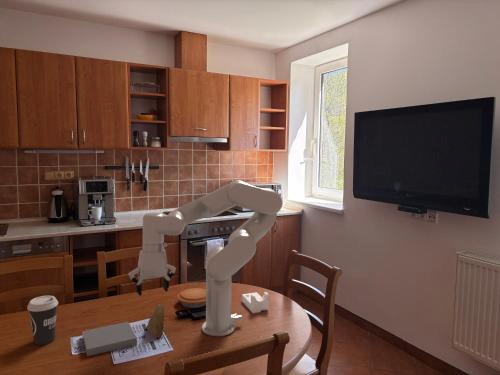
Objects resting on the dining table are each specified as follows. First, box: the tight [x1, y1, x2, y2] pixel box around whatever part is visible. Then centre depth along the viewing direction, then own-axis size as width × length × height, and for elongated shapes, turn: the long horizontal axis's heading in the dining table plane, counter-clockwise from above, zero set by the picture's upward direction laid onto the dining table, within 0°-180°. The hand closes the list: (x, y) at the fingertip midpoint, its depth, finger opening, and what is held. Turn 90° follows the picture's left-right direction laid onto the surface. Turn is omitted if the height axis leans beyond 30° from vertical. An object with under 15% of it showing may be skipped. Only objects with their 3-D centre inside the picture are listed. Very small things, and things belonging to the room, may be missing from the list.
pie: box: [176, 287, 206, 309], centre depth 167 cm, size 15×16×5 cm
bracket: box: [241, 291, 270, 314], centre depth 164 cm, size 13×7×8 cm, turn 22°
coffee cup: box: [27, 295, 59, 346], centre depth 132 cm, size 10×10×15 cm
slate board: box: [82, 321, 138, 357], centre depth 133 cm, size 16×14×2 cm
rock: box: [146, 302, 165, 338], centre depth 140 cm, size 11×9×10 cm
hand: (152, 292), depth 139 cm, fingers open, 9 cm apart
